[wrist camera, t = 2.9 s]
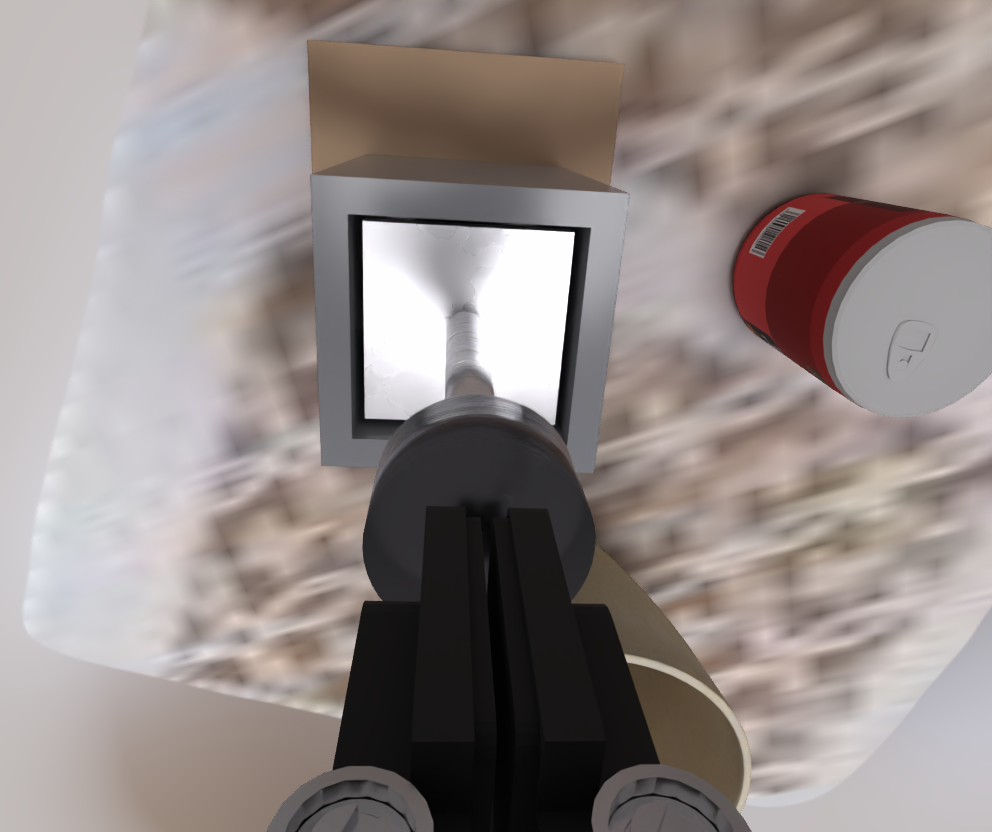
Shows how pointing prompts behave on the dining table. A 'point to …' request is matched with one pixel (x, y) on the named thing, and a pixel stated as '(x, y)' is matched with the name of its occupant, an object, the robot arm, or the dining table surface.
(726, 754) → the plant pot
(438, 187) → the grey boxy piece
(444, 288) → the plunger
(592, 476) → the dining table surface
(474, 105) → the board
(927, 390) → the canned food
